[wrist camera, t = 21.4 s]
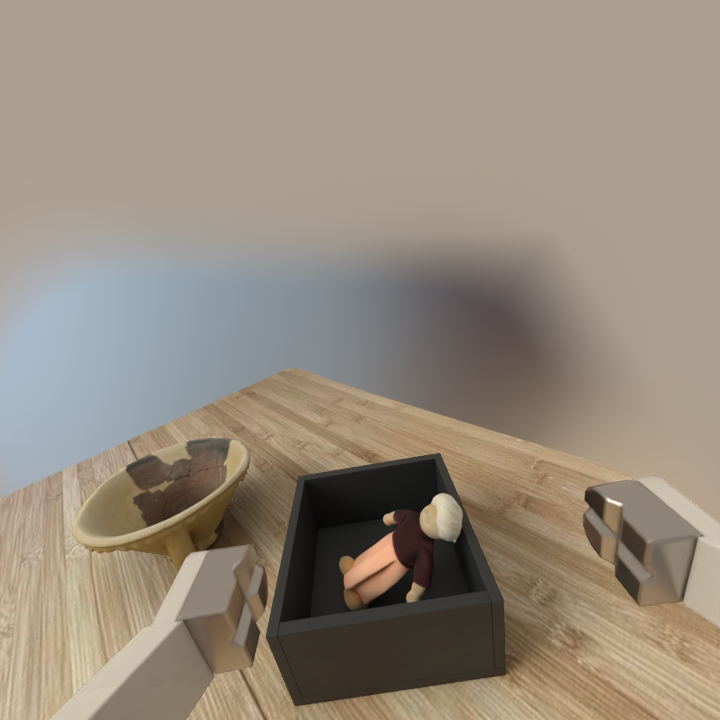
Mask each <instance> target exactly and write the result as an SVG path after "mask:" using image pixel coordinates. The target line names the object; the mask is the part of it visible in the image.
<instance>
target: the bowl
mask: <svg viewBox="0 0 720 720" xmlns="http://www.w3.org/2000/svg"><path fill="white" fill-rule="evenodd" d="M249 463H250V451H249V449H248V448H247V446H246V445H245V444H244V443H242V442H240V441H237V440H233V439H226V438H208V439H198V440H193V441H188V442H185V443H181V444H176V445H173V446H170V447H167V448H164V449H161V450H159V451H157V452H154V453H152V454H149V455H147V456H145V457H143V458H141V459H139V460H137V461H135V462H133V463H131V464H129V465H127V466H125V467H124V468H122V469H121V470H119V471H118V472H116V473H115V474H114V475H113V476H111V477H110V478H109V479H107V480H106V481H105V482H104V483H102V484H101V485H100V486H99V487H98V488H97V489H96V491H95V492H94V493H93V494H92V495H91V496H90V497H89V498H88V499H87V501H86V502H85V503H84V505H83V506H82V508H81V509H80V511H79V513H78V515H77V516H76V518H75V520H74V522H73V525H72V530H73V536H74V538H75V539H76V541H78V542H79V543H81V544H83V545H84V546H85V548H86V549H89V550H90V551H91V552H93V551H96V552H97V553H99V554H100V553H103V552H106V553H108V552H112V551H115V550H120V551H128V550H134V551H140V552H148V553H154V554H159V555H162V556H163V558H166V557H167V559H168V561H173V563H174V564H175V566H176V567H177V568H178V569H179V570H180V568H181V566H182V564H183V562H184V560H185V559H186V557H187V556H189V555H190V554H191V553H192V552H199V551H205V550H206V549H207V548H208V547H209V546H210V545H212V544H213V543H214V542H215V541H216V539H217V538H218V537H219V536H220V533H221V531H222V528H223V523H224V521H223V519H222V517H223V514H224V512H225V510H226V508H227V506H228V504H229V502H230V499H231V497H232V495H233V492H234V490H235V488H236V487H237V486H238V484H239V481H243V480H244V477H245V475H246V474H247V469H248V468H249Z"/></svg>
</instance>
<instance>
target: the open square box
mask: <svg viewBox="0 0 720 720" xmlns="http://www.w3.org/2000/svg"><path fill="white" fill-rule="evenodd" d="M441 493H445V494H448V495H450V496H452V497H453V498H454V500H455V501H456V502H457V503H458V505H459V506H460V508H461V510H462V513H463V518H462V528H461V531H460V534H459V536H458V538H457V540H456V542H455V543H454V542H453V541H446V540H443V539H434V549H433V555H434V568H433V574H432V581H431V588H430V589H428V588H427V590H426V592H425V594H424V595H423V596H422V597H421V598H420V601H415V602H409V603H407V600H406V597H407V594H408V592H409V591H411V589H412V584H413V577H414V569H415V566H414V567H413V568H412V569H411V570H410V571H408V572H407V573H406V574H405V575H404V576H403V577H402V578H401V579H400V580H399V581H398V582H397V583H396V584H395V585H393V586H392V587H391V588H390V589H389V590H388V591H386V592H385V593H383V594H382V595H380V596H378V597H377V598H375V599H374V600H372V601H371V602H370V603H369V606H368V608H367V609H364V610H357V611H352V610H350V609H349V608H348V606H347V605H346V602H345V599H344V589H345V586H344V575H343V574H342V572H341V570H340V567H339V562H340V559H341V558H342V557H344V556H349V557H351V558H353V559H354V560H356V558H357V557H359V556H360V555H361V554H362V553H364V552H365V551H366V550H368V549H369V548H371V547H372V546H374V545H375V544H376V543H378V542H379V541H380V540H381V539H382V538H384V537H385V536H386V535H388V534H390V533H392V532H394V531H395V530H396V529H397V528H398V527H399V526H398V524H392V525H390V526H388V525H386V524H385V523H384V521H383V517H384V515H386V514H390V513H392V512H395V511H396V510H398V509H401V510H411V511H414V512H417V513H419V514H421V512H422V510H423V509H424V508H425V507H426V506H428V505H430V504H431V502H432V500H433V498H434V497H435V496H436V495H438V494H441ZM266 639H267V641H268V644H269V646H270V649H271V651H272V653H273V656H274V658H275V660H276V663H277V665H278V667H279V670H280V672H281V675H282V677H283V679H284V682H285V684H286V686H287V689H288V691H289V694H290V696H291V698H292V700H293V703H294V705H295V706H298V705H305V704H311V703H318V702H325V701H331V700H338V699H345V698H352V697H358V696H365V695H372V694H378V693H385V692H392V691H399V690H405V689H412V688H419V687H425V686H432V685H439V684H446V683H452V682H459V681H466V680H472V679H479V678H486V677H493V676H499V675H505V674H506V663H505V633H504V602H503V598H502V595H501V593H500V591H499V589H498V586H497V584H496V582H495V579H494V577H493V575H492V572H491V570H490V568H489V565H488V563H487V561H486V558H485V556H484V554H483V552H482V549H481V547H480V545H479V542H478V540H477V538H476V535H475V533H474V531H473V528H472V526H471V524H470V521H469V519H468V517H467V514H466V512H465V510H464V508H463V505H462V503H461V501H460V498H459V496H458V494H457V491H456V489H455V487H454V484H453V482H452V480H451V477H450V475H449V473H448V470H447V468H446V466H445V464H444V461H443V459H442V457H441V454H440V453H437V454H430V455H424V456H418V457H412V458H406V459H400V460H394V461H388V462H382V463H376V464H370V465H364V466H358V467H352V468H346V469H340V470H334V471H328V472H322V473H316V474H310V475H306V476H299V477H298V482H297V487H296V492H295V497H294V501H293V506H292V511H291V516H290V521H289V526H288V531H287V536H286V540H285V545H284V550H283V555H282V560H281V565H280V570H279V575H278V580H277V584H276V589H275V594H274V599H273V604H272V609H271V614H270V619H269V623H268V628H267V633H266Z"/></svg>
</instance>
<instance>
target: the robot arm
mask: <svg viewBox="0 0 720 720" xmlns="http://www.w3.org/2000/svg"><path fill="white" fill-rule="evenodd" d="M585 501H586V502H587V503H588V504H589V506H590V507H589V508H588V509H587V511H586V512H585V513H584V514H583V526H584V529H585V532H586V535H587V538H588V540H589V542H590V543H591V545H592V547H593V548H594V550H595V551H596V552H597V554H598V555H599V556H600V557H601V558H602V559H604V560H606V561H608V562H609V563H611V564H613V565H615V576H616V578H617V579H618V580H619V581H620V583H621V584H622V585H623V587H624V588H625V589H626V590H627V592H628V593H629V594H630V595H631V597H632V598H633V599H634V600H635V602H636V603H637V604H638V605H639V607H643V606H652V605H660V604H668V603H676V602H683V605H684V606H686V607H687V608H689V609H691V610H692V611H694V612H695V613H697V614H698V615H700V616H701V617H703V618H704V619H706V620H707V621H709V622H710V623H712V624H713V625H715V626H716V627H718V628H719V629H720V522H719V521H718V520H716V519H715V518H713V517H712V516H711V515H710V514H708V513H707V512H706V511H704V510H703V509H702V508H701V507H699V506H698V505H697V504H695V503H694V502H693V501H691V500H690V499H689V498H687V497H686V496H685V495H684V494H682V493H681V492H680V491H678V490H677V489H676V488H674V487H673V486H672V485H670V484H669V483H668V482H666V481H665V480H664V479H662V478H660V477H657V476H648V477H642V478H637V479H632V480H625V481H619V482H613V483H608V484H602V485H597V486H591V487H588V488H587V490H586V491H585ZM257 557H258V552H257V550H256V548H255V545H254V544H246V545H239V546H232V547H225V548H218V549H211V550H206V551H199V552H192V553H191V554H190V555H189V556H187V557H186V559H185V560H184V562H183V564H182V566H181V568H180V570H179V572H178V574H177V576H176V578H175V580H174V582H173V584H172V586H171V588H170V590H169V592H168V594H167V596H166V598H165V600H164V602H163V603H162V605H161V607H160V609H159V611H158V613H157V615H156V617H155V619H154V621H153V623H152V625H150V626H145V627H144V628H143V629H142V630H141V631H140V632H139V633H138V634H137V635H136V636H134V637H133V638H132V639H131V640H130V641H129V642H128V643H127V644H126V645H125V646H124V647H123V648H122V649H121V650H120V651H119V652H118V653H117V654H116V655H115V656H114V657H113V658H112V659H111V660H110V661H109V662H108V663H107V664H106V665H105V666H104V667H103V668H101V669H100V670H99V671H98V672H97V673H96V674H95V675H94V676H93V677H92V678H91V679H90V680H89V681H88V682H87V683H86V684H85V685H84V686H83V687H82V688H81V689H80V690H79V691H78V692H77V693H76V694H75V695H74V696H73V697H72V698H71V699H70V700H69V701H67V702H66V703H65V704H64V705H63V706H62V707H61V708H60V709H59V710H58V711H57V712H56V713H55V714H54V715H53V716H52V717H51V718H50V719H49V720H186V719H187V717H188V716H189V714H190V713H191V711H192V710H193V708H194V707H195V705H196V704H197V702H198V701H199V699H200V698H201V696H202V695H203V693H204V692H205V690H206V689H207V687H208V686H209V684H210V683H211V681H212V680H213V678H214V675H213V674H218V673H224V672H229V671H234V670H239V669H245V668H250V667H252V666H253V661H254V657H255V652H256V648H257V644H258V639H259V635H260V631H259V629H258V627H257V624H256V622H257V621H258V619H259V618H260V617H261V615H262V614H263V613H264V612H265V607H266V603H267V596H268V581H267V575H266V572H265V569H264V567H263V566H261V565H260V564H258V563H257V562H256V561H257Z"/></svg>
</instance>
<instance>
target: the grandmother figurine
mask: <svg viewBox="0 0 720 720" xmlns="http://www.w3.org/2000/svg"><path fill="white" fill-rule="evenodd" d="M462 518H463V513H462V510H461V508H460V506H459V505H458V503H457V502H456V501H455V500H454V498H453V497H452V496H450V495H448V494H445V493H441V494H438V495H436V496H435V497H434V498H433V500H432V502H431V504H430V505H428V506H426V507H425V508H424V509H423V510H422V512H421V514H419V513H417V512H414V511H411V510H401V509H398V510H396V511H395V512H392V513H390V514H386V515H384V517H383V521H384V523H385V524H386V525H388V526H390V525H392V524H398V526H399V527H398V528H397V529H396V530H395V531H394V532H392V533H390V534H388V535H386V536H385V537H384V538H382V539H381V540H380V541H379V542H378V543H376V544H375V545H374V546H372V547H371V548H369V549H368V550H366V551H365V552H364V553H362V554H361V555H360V556H359V557H357V558H356V560H354V559H353V558H351V557H349V556H344V557H342V558H341V559H340V562H339V567H340V570H341V572H342V574H343V575H344V586H345V589H344V599H345V602H346V605H347V606H348V608H349V609H350V610H352V611H357V610H364V609H367V608H368V606H369V603H370V602H371V601H372V600H374V599H375V598H377V597H378V596H380V595H382V594H383V593H385V592H386V591H388V590H389V589H390V588H391V587H392V586H393V585H395V584H396V583H397V582H398V581H399V580H400V579H401V578H402V577H403V576H404V575H405V574H406V573H407V572H408V571H410V570H411V569H412V568H413V567H414V566H415V569H414V577H413V584H412V589H411V591H409V592H408V594H407V597H406V600H407V603H409V602H415V601H420V598H421V597H422V596H423V595H424V594H425V592H426V590H427V588H428V589H430V588H431V581H432V574H433V568H434V555H433V549H434V539H443V540H446V541H453V542H454V543H455V542H456V540H457V538H458V536H459V534H460V531H461V528H462Z"/></svg>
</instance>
